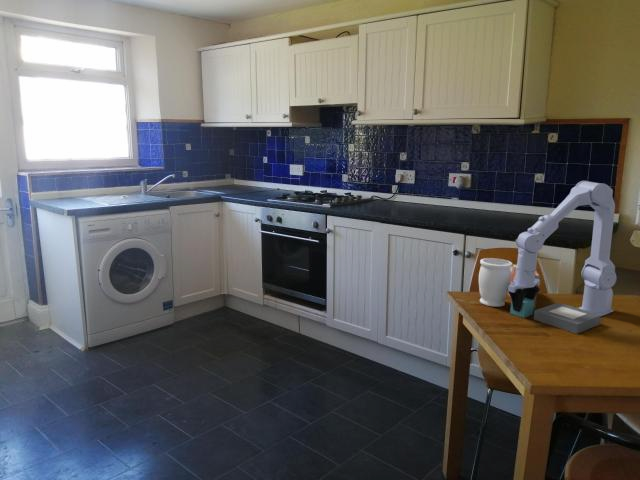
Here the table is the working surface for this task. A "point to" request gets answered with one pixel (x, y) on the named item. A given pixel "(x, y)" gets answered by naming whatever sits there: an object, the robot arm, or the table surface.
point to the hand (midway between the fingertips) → (521, 309)
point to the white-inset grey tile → (567, 317)
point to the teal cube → (524, 308)
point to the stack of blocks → (513, 276)
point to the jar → (494, 281)
